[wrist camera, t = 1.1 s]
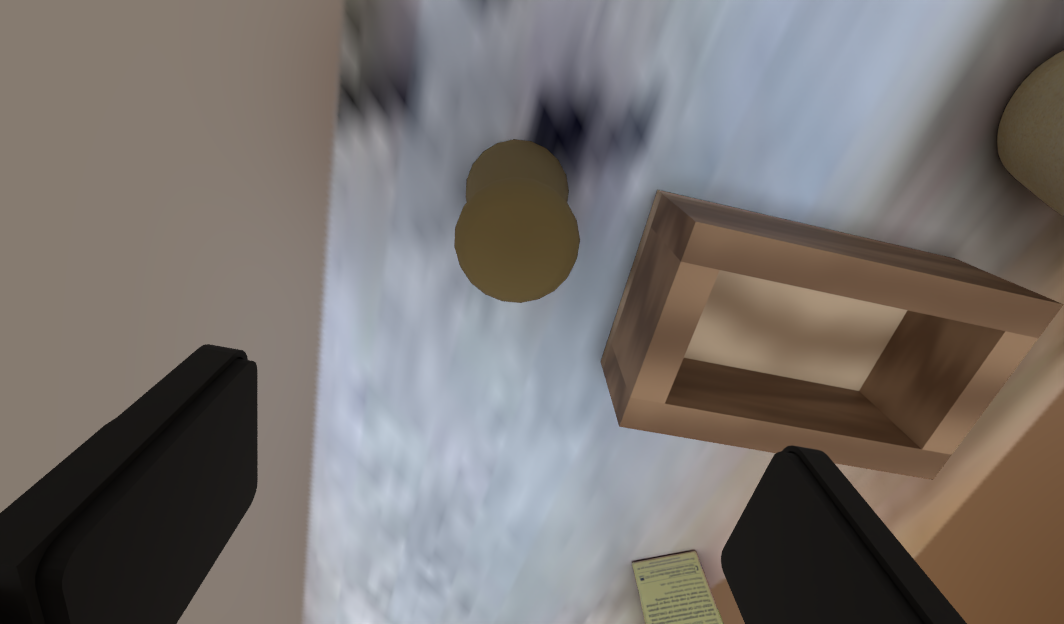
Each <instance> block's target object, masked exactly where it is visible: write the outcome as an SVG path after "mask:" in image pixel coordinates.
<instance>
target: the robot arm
mask: <svg viewBox="0 0 1064 624" xmlns="http://www.w3.org/2000/svg"><path fill="white" fill-rule="evenodd" d="M256 489H257V365H256V363H255V362H254V361H249V360H248V359H247V355H246V353H245V352H244V351H243V350H238V349H232V348H226V347H220V346H215V345H209V344H208V345H203V346H201V347H200V348H199V349H197V350H196V351H195V352H194V353H192V354H191V355H190V356H189V357H188V358H187V359H185V360H184V361H183V362H182V363H181V364H180V365H178V366H177V367H176V368H175V369H174V370H172V371H171V372H170V373H169V374H168V375H166V376H165V377H164V378H163V379H162V380H161V381H159V382H158V383H157V384H156V385H155V386H154V387H152V388H151V389H150V390H149V391H148V392H146V393H145V394H144V395H143V396H142V397H140V398H139V399H138V400H137V401H136V402H135V403H134V404H132V405H131V406H130V407H129V408H128V409H126V410H125V411H124V412H123V413H122V414H120V415H119V416H118V417H117V418H115V419H114V420H112V421H111V422H109V423H108V424H106V425H105V426H103V427H102V428H101V429H100V430H99V431H98V432H96V433H95V434H94V435H93V436H92V437H90V438H89V439H88V440H87V441H86V442H85V443H83V444H82V445H81V446H80V447H78V448H77V449H76V450H75V451H74V452H73V453H71V454H70V455H69V456H68V457H67V458H65V459H64V460H63V461H62V462H61V463H59V464H58V465H57V466H56V467H55V468H53V469H52V470H51V471H50V472H49V473H48V474H46V475H45V476H44V477H43V478H42V479H41V480H39V481H38V482H37V483H36V484H34V486H32V487H31V488H30V489H29V490H28V491H26V492H25V493H24V494H23V495H21V496H20V497H19V498H18V499H17V500H15V501H14V502H13V503H12V504H11V505H10V506H8V507H7V508H6V509H5V510H4V511H2V512H1V513H0V624H177V622H178V620H179V618H180V617H181V616H182V614H183V612H184V611H185V609H186V608H187V606H188V604H189V603H190V601H191V600H192V598H193V596H194V595H195V593H196V592H197V590H198V588H199V587H200V585H201V584H202V582H203V580H204V579H205V577H206V576H207V574H208V572H209V571H210V569H211V567H212V566H213V564H214V563H215V561H216V559H217V558H218V556H219V555H220V553H221V551H222V550H223V548H224V547H225V545H226V543H227V542H228V540H229V539H230V537H231V535H232V534H233V532H234V531H235V529H236V528H237V526H238V524H239V523H240V521H241V519H242V518H243V516H244V515H245V513H246V511H247V510H248V508H249V506H250V505H251V503H252V501H253V498H254V495H255V493H256ZM721 564H722V569H723V572H724V575H725V577H726V579H727V582H728V584H729V586H730V589H731V591H732V594H733V596H734V598H735V601H736V603H737V605H738V608H739V610H740V613H741V615H742V617H743V620H744V622H745V624H967V623H966V622H965V621H964V620H963V619H962V617H961V616H960V615H959V614H958V612H957V611H956V610H955V609H954V608H953V606H952V605H951V604H950V603H949V602H948V600H947V599H946V598H945V597H944V595H943V594H942V593H941V592H940V591H939V589H938V588H937V587H936V586H935V585H934V583H933V582H932V581H931V580H930V579H929V577H928V576H927V575H926V574H925V572H924V571H923V570H922V569H921V568H920V566H919V565H918V564H917V563H916V562H915V560H914V559H913V558H912V557H911V556H910V554H909V553H908V552H907V551H906V550H905V548H904V547H903V546H902V545H901V543H900V542H899V541H898V540H897V539H896V537H895V536H894V535H893V534H892V533H891V531H890V530H889V529H888V528H887V527H886V525H885V524H884V523H883V522H882V520H881V519H880V518H879V517H878V516H877V514H876V513H875V512H874V511H873V510H872V508H871V507H870V506H869V505H868V504H867V502H866V501H865V500H864V499H863V497H862V496H861V495H860V494H859V493H858V491H857V490H856V489H855V488H854V487H853V485H852V484H851V483H850V482H849V481H848V479H847V478H846V477H845V476H844V475H843V473H842V472H841V471H840V470H839V468H838V467H837V466H836V465H835V464H834V462H833V461H832V460H831V459H830V458H829V456H828V455H827V454H825V453H824V452H823V451H820V450H817V449H811V448H805V447H799V446H793V445H791V446H787V447H786V448H784V449H783V450H782V451H781V452H777V453H776V454H775V455H774V456H773V458H772V460H771V462H770V463H769V465H768V467H767V469H766V471H765V473H764V475H763V476H762V478H761V480H760V482H759V484H758V486H757V487H756V489H755V491H754V493H753V495H752V497H751V499H750V500H749V502H748V504H747V506H746V508H745V510H744V511H743V513H742V515H741V517H740V519H739V521H738V522H737V524H736V526H735V528H734V530H733V532H732V534H731V535H730V537H729V539H728V541H727V543H726V545H725V546H724V548H723V551H722V555H721Z"/></svg>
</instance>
